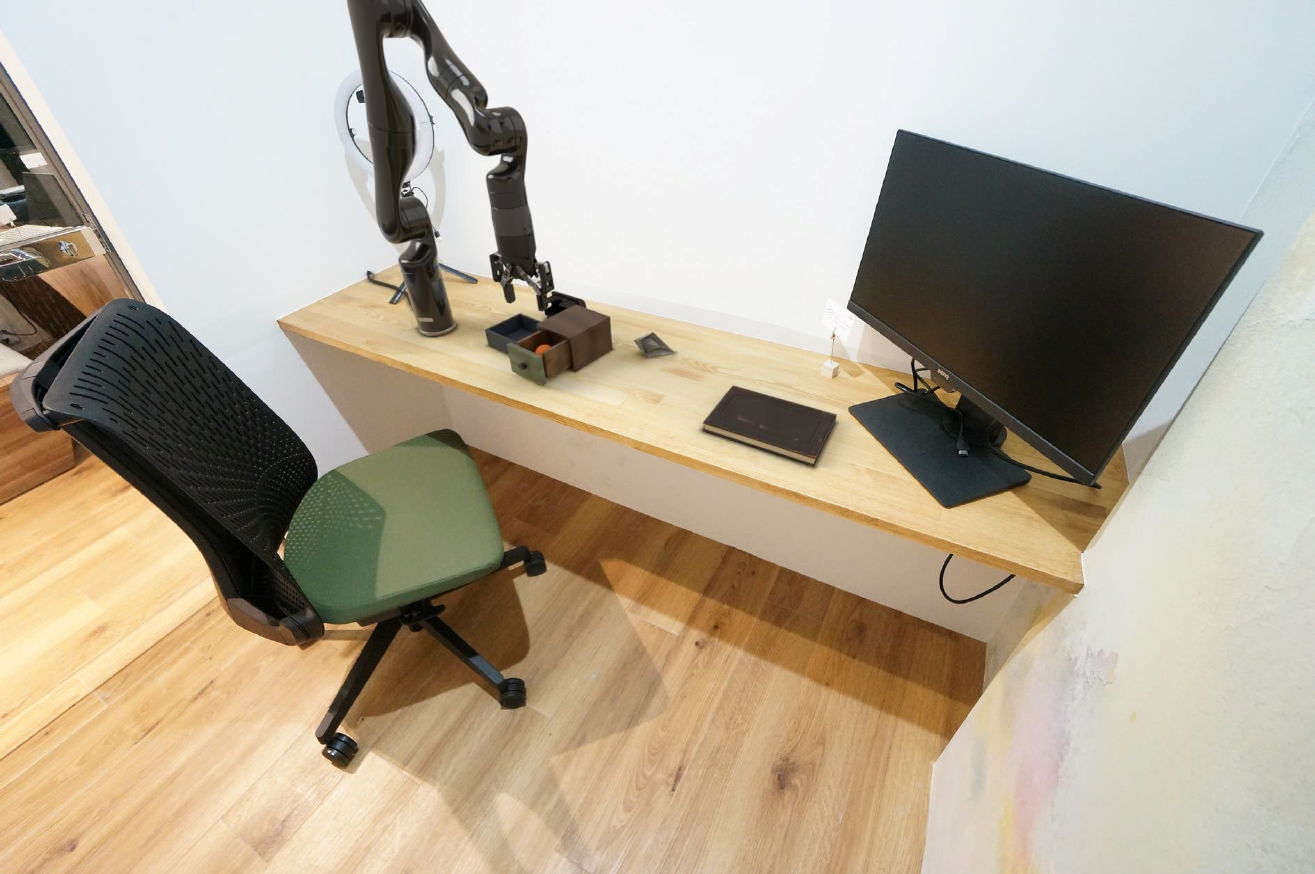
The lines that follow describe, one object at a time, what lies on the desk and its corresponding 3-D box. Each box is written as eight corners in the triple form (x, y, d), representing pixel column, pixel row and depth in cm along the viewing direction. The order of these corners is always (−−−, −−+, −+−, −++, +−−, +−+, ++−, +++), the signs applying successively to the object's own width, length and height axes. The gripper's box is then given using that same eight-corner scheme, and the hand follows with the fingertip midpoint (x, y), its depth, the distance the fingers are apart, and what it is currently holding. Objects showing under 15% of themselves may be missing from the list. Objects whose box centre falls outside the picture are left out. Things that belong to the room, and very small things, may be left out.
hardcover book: (813, 467, 99) (815, 457, 98) (702, 431, 108) (702, 422, 107) (835, 421, 110) (837, 412, 109) (732, 392, 119) (733, 383, 118)
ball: (530, 363, 125) (530, 345, 122) (545, 355, 128) (545, 338, 125) (545, 371, 123) (544, 354, 120) (560, 364, 126) (560, 346, 123)
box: (488, 345, 137) (484, 329, 134) (522, 328, 144) (520, 313, 141) (524, 361, 130) (520, 345, 127) (558, 343, 137) (556, 327, 135)
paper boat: (662, 336, 137) (686, 340, 131) (656, 361, 138) (680, 365, 131) (626, 324, 129) (651, 327, 122) (620, 350, 130) (644, 354, 123)
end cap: (588, 318, 148) (585, 295, 144) (570, 328, 144) (568, 305, 140) (561, 310, 153) (558, 287, 149) (544, 319, 148) (540, 296, 144)
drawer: (538, 388, 119) (533, 360, 115) (508, 373, 124) (502, 346, 120) (580, 363, 128) (577, 336, 123) (550, 350, 133) (546, 323, 128)
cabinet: (574, 372, 126) (570, 338, 121) (541, 357, 132) (535, 324, 126) (612, 349, 135) (610, 316, 129) (579, 336, 140) (575, 304, 135)
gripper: (472, 228, 103) (489, 306, 113) (530, 239, 98) (543, 320, 108) (498, 218, 108) (512, 293, 118) (554, 227, 103) (564, 305, 113)
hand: (527, 305), depth 113 cm, fingers open, 8 cm apart
